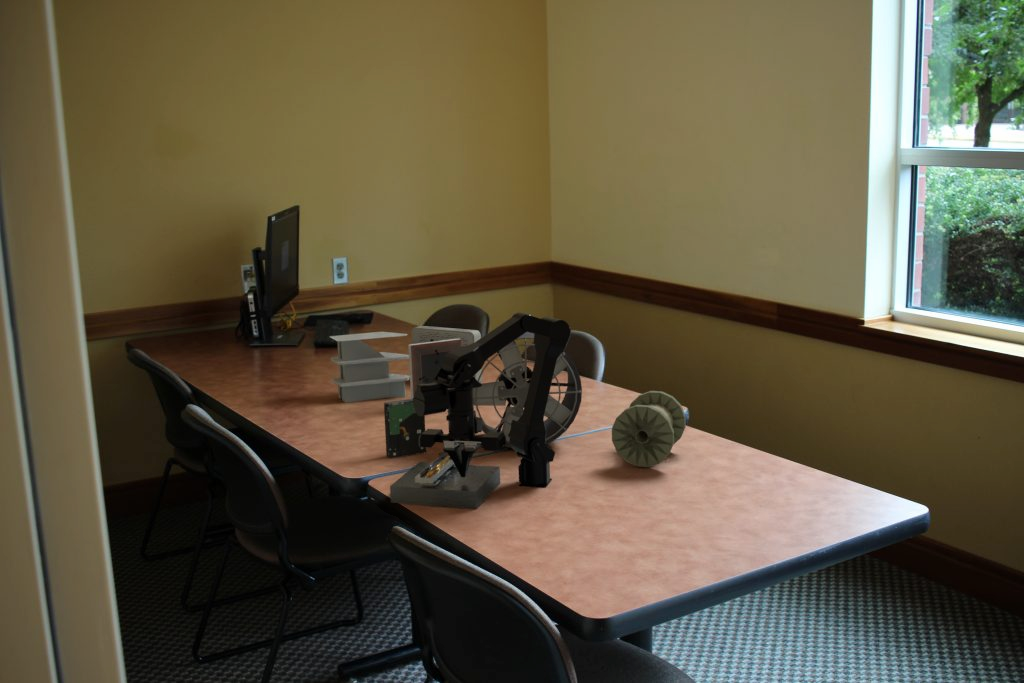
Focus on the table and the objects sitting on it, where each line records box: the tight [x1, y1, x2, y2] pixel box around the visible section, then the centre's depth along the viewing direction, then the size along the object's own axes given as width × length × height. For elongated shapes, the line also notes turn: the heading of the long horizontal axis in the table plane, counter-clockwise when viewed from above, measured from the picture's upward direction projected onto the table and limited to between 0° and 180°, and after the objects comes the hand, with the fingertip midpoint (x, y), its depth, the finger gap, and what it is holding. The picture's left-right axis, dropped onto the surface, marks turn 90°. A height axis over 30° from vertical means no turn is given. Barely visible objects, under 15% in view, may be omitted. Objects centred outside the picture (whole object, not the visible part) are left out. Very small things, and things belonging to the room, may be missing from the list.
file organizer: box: [329, 331, 410, 404], centre depth 312 cm, size 26×35×22 cm
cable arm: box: [415, 451, 456, 484], centre depth 226 cm, size 4×18×3 cm, turn 164°
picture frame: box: [407, 338, 462, 399], centre depth 298 cm, size 16×2×22 cm, turn 119°
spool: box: [611, 390, 687, 468], centre depth 248 cm, size 16×15×15 cm
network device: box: [411, 325, 483, 384], centre depth 330 cm, size 26×9×20 cm, turn 58°
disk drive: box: [383, 398, 427, 459], centre depth 254 cm, size 10×3×15 cm, turn 119°
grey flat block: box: [389, 461, 501, 510], centre depth 226 cm, size 20×18×4 cm
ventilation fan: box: [473, 332, 583, 449], centre depth 263 cm, size 30×18×30 cm, turn 99°
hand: (463, 476), depth 221 cm, fingers closed
